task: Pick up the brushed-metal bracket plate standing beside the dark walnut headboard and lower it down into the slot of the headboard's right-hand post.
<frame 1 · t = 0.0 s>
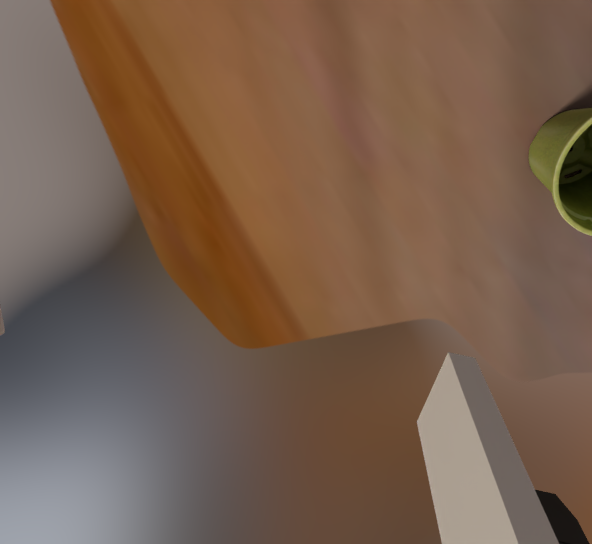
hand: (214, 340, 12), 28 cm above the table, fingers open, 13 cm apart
plant pot: (566, 147, 35), on the table
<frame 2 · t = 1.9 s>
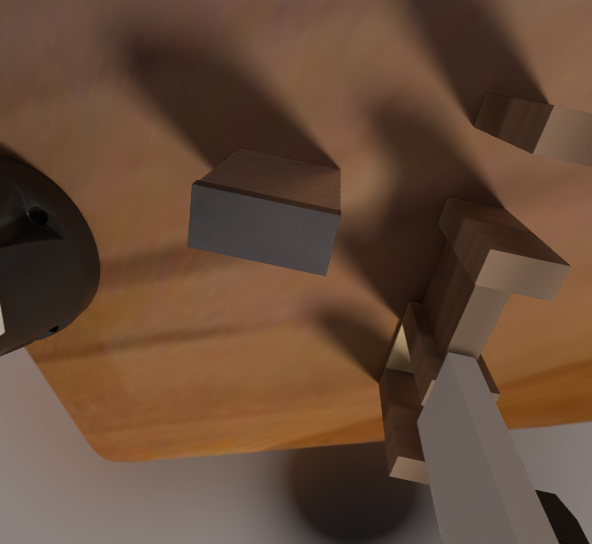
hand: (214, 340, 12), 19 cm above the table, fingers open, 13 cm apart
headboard: (449, 269, 30), on the table
bracket plate: (286, 180, 29), on the table
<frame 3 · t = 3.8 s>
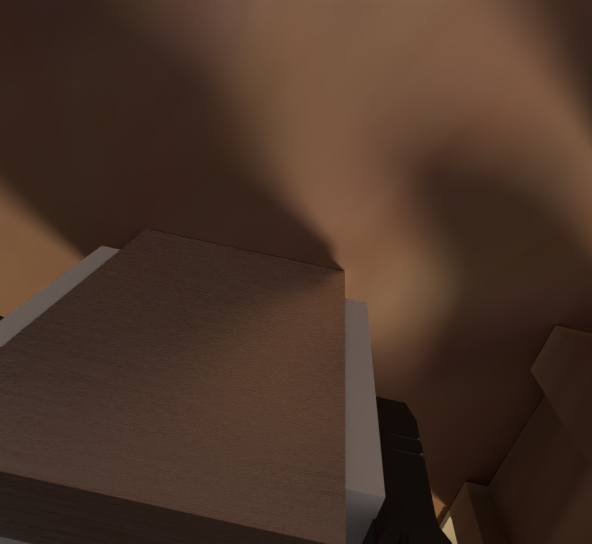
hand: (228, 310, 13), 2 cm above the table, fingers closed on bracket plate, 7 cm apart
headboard: (543, 440, 17), on the table
bracket plate: (239, 287, 15), on the table, touching gripper
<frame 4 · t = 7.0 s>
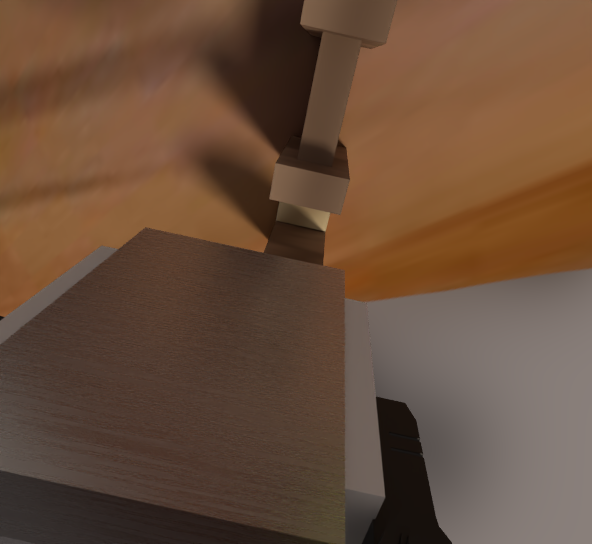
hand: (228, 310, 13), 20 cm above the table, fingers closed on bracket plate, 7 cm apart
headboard: (329, 94, 28), on the table
bracket plate: (239, 286, 15), point 18 cm above the table, touching gripper
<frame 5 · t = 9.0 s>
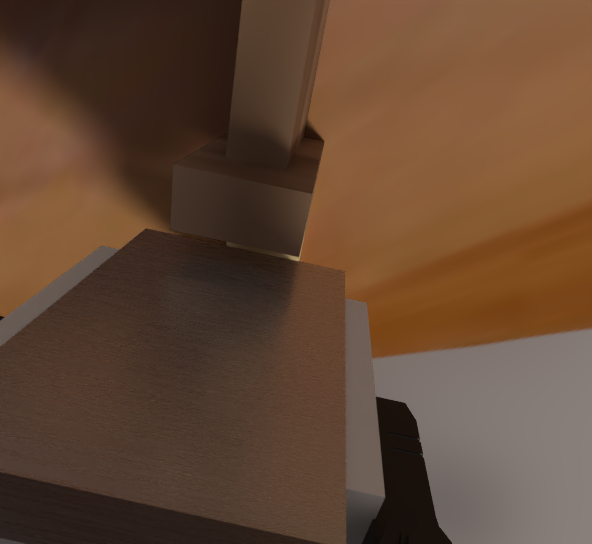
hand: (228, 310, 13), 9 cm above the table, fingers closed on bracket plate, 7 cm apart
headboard: (295, 57, 18), on the table
bracket plate: (239, 287, 15), point 8 cm above the table, touching gripper
when the fingers open (4 cm above the table, at t = 10.5 s): bracket plate drops 2 cm, resting on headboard.
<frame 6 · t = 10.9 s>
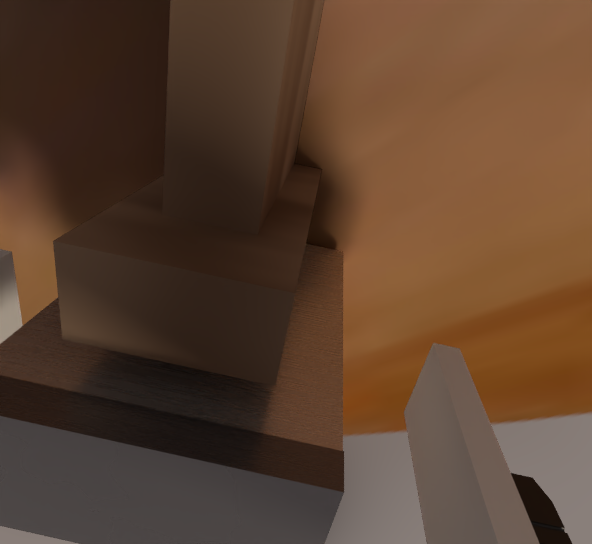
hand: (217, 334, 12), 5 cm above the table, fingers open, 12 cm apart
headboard: (282, 58, 13), on the table
bracket plate: (247, 266, 16), resting on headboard
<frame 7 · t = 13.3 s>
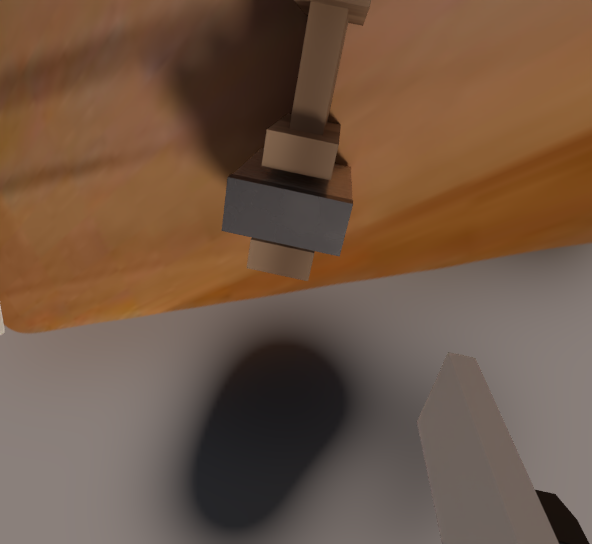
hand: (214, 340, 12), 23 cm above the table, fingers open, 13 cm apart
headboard: (323, 71, 29), on the table
bracket plate: (302, 176, 32), resting on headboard
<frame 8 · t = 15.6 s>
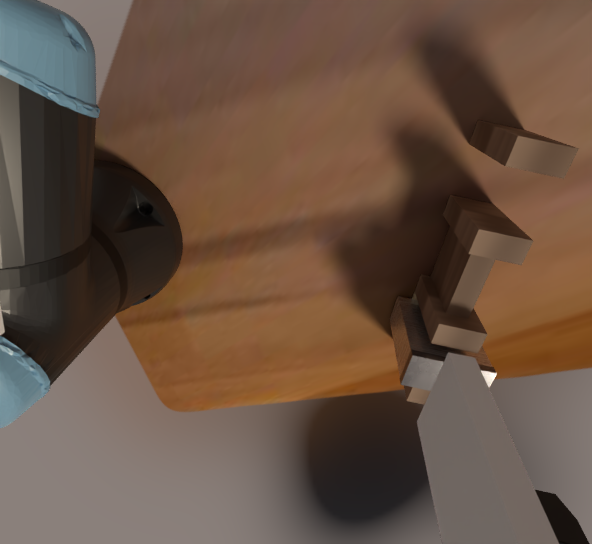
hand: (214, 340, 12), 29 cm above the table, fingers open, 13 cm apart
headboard: (451, 250, 40), on the table
bracket plate: (426, 314, 43), resting on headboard
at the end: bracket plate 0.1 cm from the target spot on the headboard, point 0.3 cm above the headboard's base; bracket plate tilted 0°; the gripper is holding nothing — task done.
